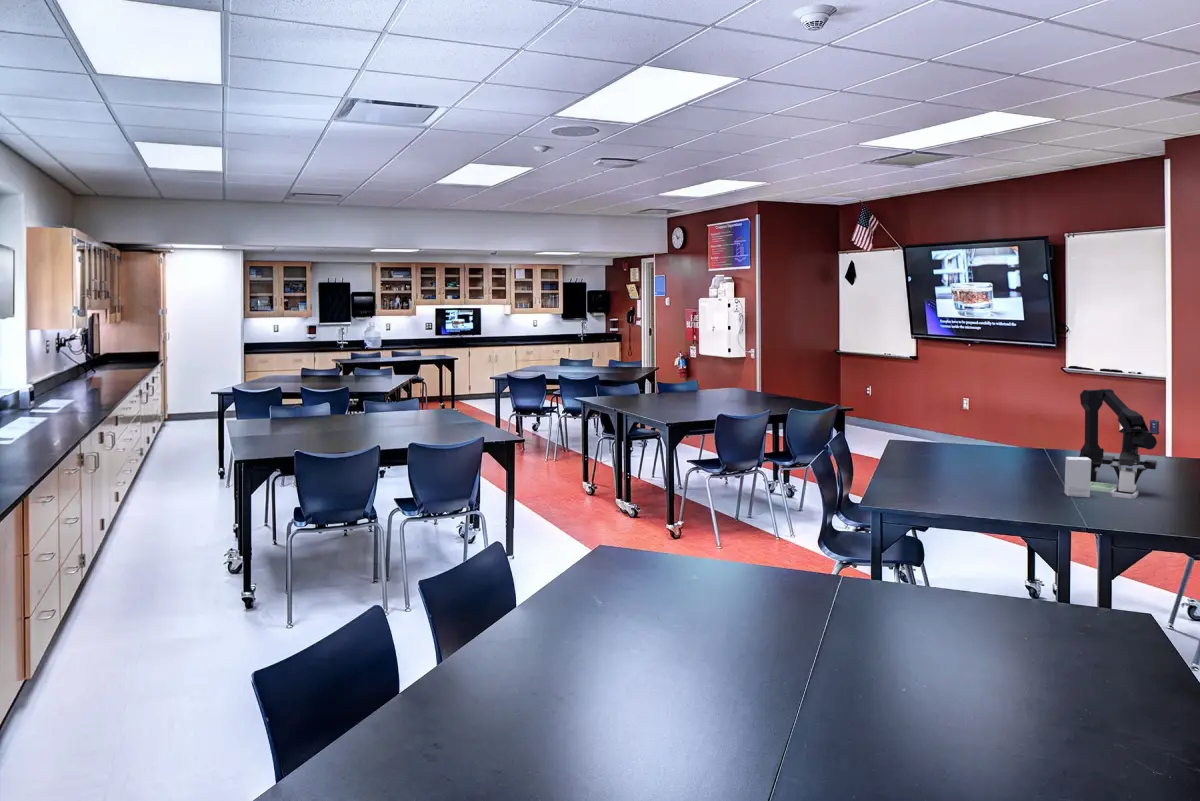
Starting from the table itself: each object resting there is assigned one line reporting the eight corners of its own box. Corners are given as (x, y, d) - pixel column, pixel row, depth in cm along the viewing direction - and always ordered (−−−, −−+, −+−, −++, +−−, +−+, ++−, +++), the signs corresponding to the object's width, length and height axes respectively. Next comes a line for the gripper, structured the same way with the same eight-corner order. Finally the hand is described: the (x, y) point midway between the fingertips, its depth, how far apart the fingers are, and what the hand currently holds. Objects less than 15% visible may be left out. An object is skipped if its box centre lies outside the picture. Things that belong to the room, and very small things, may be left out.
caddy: (1118, 490, 339) (1119, 469, 338) (1121, 487, 344) (1123, 466, 343) (1132, 492, 335) (1134, 470, 334) (1135, 489, 341) (1137, 468, 340)
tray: (1085, 491, 343) (1086, 486, 343) (1091, 486, 352) (1091, 481, 351) (1111, 494, 337) (1112, 489, 337) (1116, 489, 346) (1117, 484, 346)
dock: (1109, 497, 332) (1109, 492, 332) (1113, 493, 339) (1113, 488, 339) (1134, 500, 327) (1134, 495, 326) (1138, 496, 334) (1138, 491, 334)
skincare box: (1086, 495, 336) (1089, 457, 334) (1090, 499, 330) (1092, 459, 328) (1063, 494, 338) (1065, 455, 337) (1066, 497, 332) (1068, 458, 331)
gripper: (1099, 445, 337) (1097, 483, 339) (1154, 450, 325) (1151, 490, 327) (1105, 441, 346) (1102, 479, 348) (1159, 446, 334) (1156, 485, 336)
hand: (1127, 483), depth 339 cm, fingers closed on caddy, 5 cm apart
